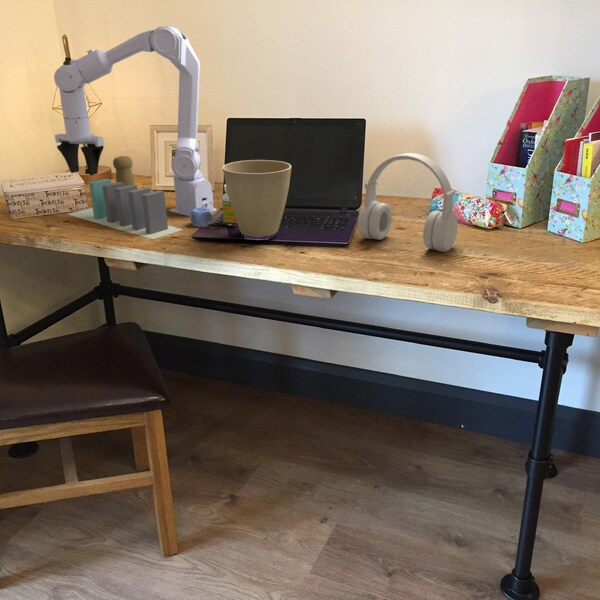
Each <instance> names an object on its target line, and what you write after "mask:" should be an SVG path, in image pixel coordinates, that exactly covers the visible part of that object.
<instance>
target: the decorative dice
mask: <svg viewBox="0 0 600 600" xmlns="http://www.w3.org/2000/svg"><path fill="white" fill-rule="evenodd" d="M189 218H190V223H191V225H192V226H193V227H196V228H202V227H201V226H203V225H204V224H205V223H207V222H209V221H213V222H214V216H213V212H211V211H210V209H208V208H195V209H193V210H192V212H191V214H190V216H189Z"/></svg>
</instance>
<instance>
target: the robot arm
mask: <svg viewBox="0 0 600 600" xmlns="http://www.w3.org/2000/svg"><path fill="white" fill-rule="evenodd" d="M86 52H87V54H85V55H84V56H81V57H80V58H77V59H75V58H72V59H70V60H69V63H70V64H63V65H61V66H59V67H58V68H57V69H56V71H55V72H54V75H53V79H54V83H55V85H56V86H57V88H58V89H59V97H60V104H61V110H62V111H61V112H62V117H63V121H64V122H63V123H64V130H65V133H57V134H54V139H55V143H60V144H59V145H56V148H57V150H58V151H59V152H60V154H61V155H62V156H63V159H64V160H65V162H66V164H67V166H68V169H69V172H70V173H71V174H74V173H75V174H76V173H78V172H80V163H79V150H81V152H82V154H83V156H84V159H85V162H86V167H87V171H88V174H89V175H90V176H94V175H98V171H99V164H100V158H101V155H102V152H103V150H104V146H105V140H104V137H103V136H97V135H94V134H93V133H91V127H90V119H89V114H88V108H87V107H88V106H87V98H86V94H85V89H84V88H85V85H89V84H91V83H92V82H95V81H96V80H98V79H101V78H102V77H105V76H107V75H108V74H110V73H111V72H112V70H113V66H114V65H116V64H117V63H119V62H121V61H123V60H126V59H128V58H129V57H132V56H134V55H136V54H138V53H140V52H146V53H152V52H153V53H154V52H155V53H156V54H158V55H160V56H162V57H163V58H165V59H167V60H168V61H170V62H171V64H173V66H174V67H175V68H176V70H178V71H179V75H178V78H179V79H178V105H177V106H178V110H177V111H178V115H177V116H178V117H177V118H178V119H177V140H176V146H175V154H174V157H173V159H172V161H171V165H170V166H171V171H172V172H173V184H174V185H173V186H174V194H175V195H174V198H175V208H170V209H169V212H170V213H175V214H179V215H183V216H188V217H190V214H191V212H192V210H193V209H195V208H208V209H210V211H211V212H212V213H213V212H216V211H217V208H215V207H214V195H213V194H214V193H213V186H212V184H211V182H209V181H208V180H206V179H205V177H204V176H203V172H202V171H201V170H200V169H199V168H200V166H201V164H202V156H201V154H200V151H199V140H198V129H199V127H198V126H199V125H198V124H199V100H200V98H199V97H200V78H201V77H200V75H201V63H200V60H199V58H198V56H197V54H196V52H195V50H194V49H193V47H192V45H191V43H190V41H189V38H188V37H187V35H186V34H184V33H183V31H181V30H180V29H179V28H177V27H176V26H174V25H161V26H157V28H155V29H150V30H147V31H143V32H141V33H138V34H136V35H134V36H133V37H130V38H128V39H127V40H125V41H123V42H122V43H119V44H118V45H116V46H114V47H112V48H111V49H108V50H107V51H104V50H101V49H99V48H98V49H95V50H94V49H93V48H92V49H89V50H87V51H86ZM80 145H85V146H82V147H81V146H80Z"/></svg>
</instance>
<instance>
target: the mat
mask: <svg viewBox="0 0 600 600" xmlns="http://www.w3.org/2000/svg"><path fill="white" fill-rule="evenodd" d="M66 215H67V216H72V217H75V218H78V219H82V220H84V221H89V222H93V223H96V224H100V225H102V226H107V227H109V228H112V229H117V230H119V231H122V232H126V233H130V234H133V235H135V236H140V237H144V238H147V239H150V240H155V239H158V238H162V237H164V236H169V235H171V234H173V233H174V234H175V233H178V232H180V231H184V229H182V228H179V227H175V226H171V225H168V229H167V230H164V231H161V232H157V233H154V234H148V233H146V228H144V229H141V230H138V231H137V230H134V229H133V228H132V225H129V226H126V227H123V226H120V223H119V221H118V222H115V223H109V222H107V217H106V218H102V219H95V218H94V213H93V207H90V208H87V209H82V210H78V211H77V210H76V211H74V212H70V213H67V214H66Z"/></svg>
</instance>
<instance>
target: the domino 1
mask: <svg viewBox="0 0 600 600" xmlns="http://www.w3.org/2000/svg"><path fill="white" fill-rule="evenodd" d="M107 184H112V180H111V179H108V178H104V179H99V180H95V181H90V182H88V185H89V192H90V193H89V194H90V199H91V208H93V213H94V218H95V219H102V218H106V217H107V215H106V208H105V201H104V194H103V185H107Z"/></svg>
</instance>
